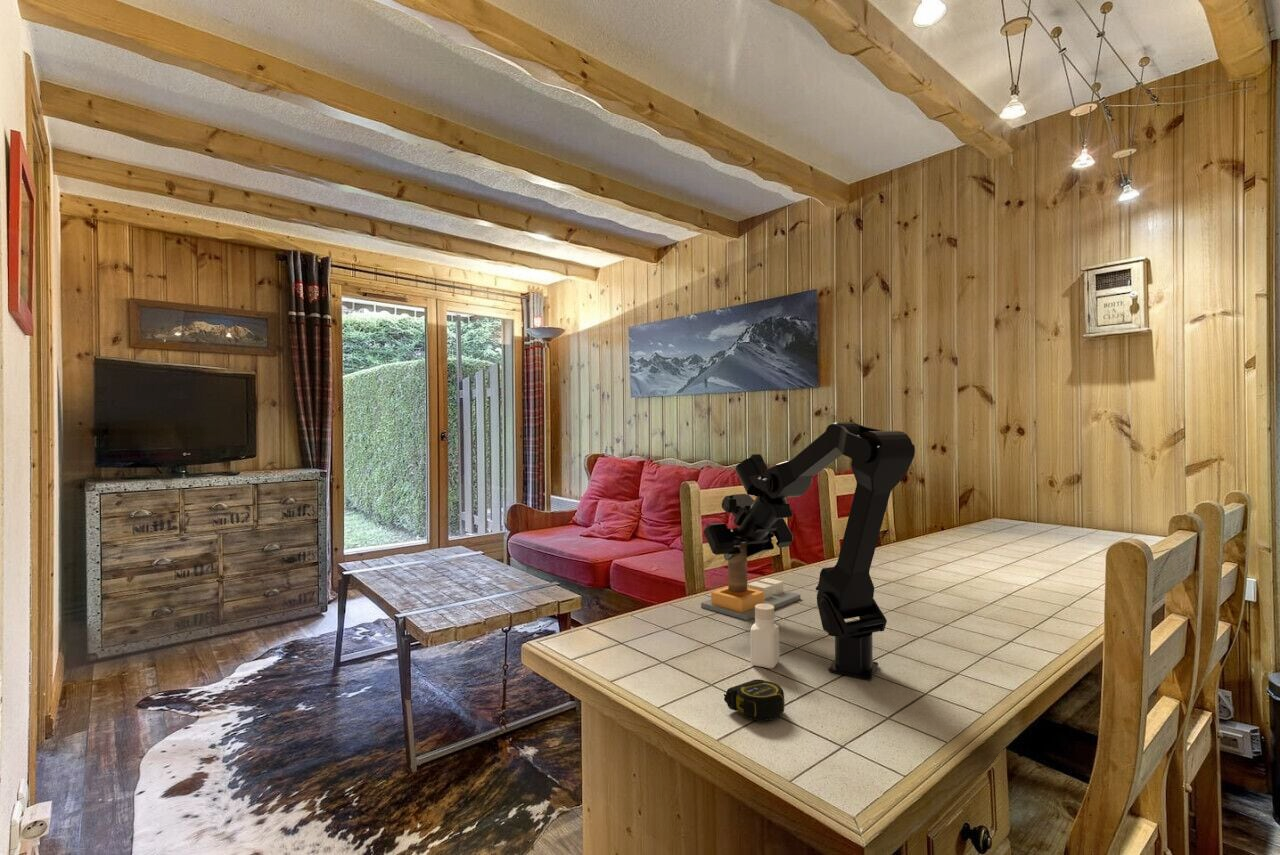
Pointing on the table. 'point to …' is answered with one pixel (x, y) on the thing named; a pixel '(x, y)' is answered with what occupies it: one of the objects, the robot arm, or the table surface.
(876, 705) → the table surface
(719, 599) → the multicoloured piece
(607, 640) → the table surface
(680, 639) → the table surface
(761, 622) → the pepper shaker
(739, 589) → the peg
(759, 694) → the tape measure
